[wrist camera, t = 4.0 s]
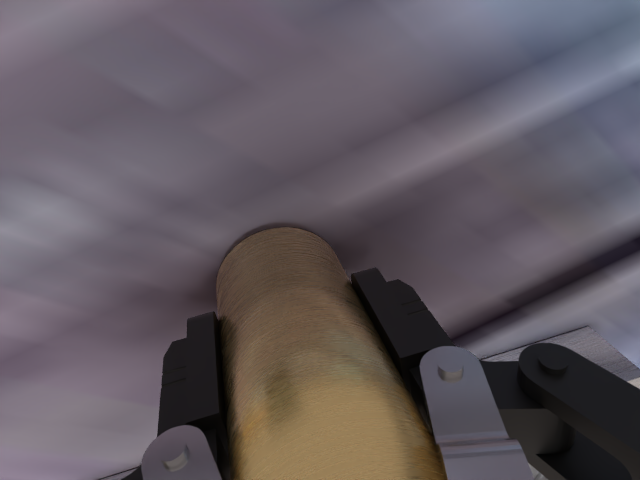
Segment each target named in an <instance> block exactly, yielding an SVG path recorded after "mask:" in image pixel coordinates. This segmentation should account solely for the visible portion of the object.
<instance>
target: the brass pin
mask: <svg viewBox="0 0 640 480" xmlns="http://www.w3.org/2000/svg"><path fill="white" fill-rule="evenodd" d="M216 294H217V307H218V320H219V334H220V347H221V360H222V374H223V387H224V400H225V414H226V427H227V441H228V454H229V467H230V480H444V476H443V472H442V469H441V465H440V462H439V458H438V455H437V451H436V448H435V444H434V441H433V438H432V435H431V431H430V430H429V428H428V426H427V424H426V422H425V420H424V418H423V416H422V415H421V413H420V411H419V409H418V407H417V405H416V403H415V402H414V400H413V398H412V396H411V394H410V392H409V390H408V388H407V387H406V385H405V383H404V381H403V379H402V377H401V375H400V374H399V372H398V370H397V368H396V366H395V364H394V362H393V360H392V359H391V357H390V355H389V353H388V351H387V349H386V347H385V345H384V344H383V342H382V340H381V338H380V336H379V334H378V332H377V331H376V329H375V327H374V325H373V323H372V321H371V319H370V317H369V316H368V314H367V312H366V310H365V308H364V306H363V304H362V303H361V301H360V299H359V297H358V295H357V293H356V291H355V289H354V288H353V286H352V284H351V282H350V280H349V278H348V276H347V275H346V273H345V271H344V269H343V267H342V265H341V263H340V261H339V260H338V258H337V256H336V254H335V252H334V251H333V249H332V248H331V247H330V246H329V244H328V243H327V242H325V241H324V240H323V239H322V238H320V237H319V236H317V235H315V234H313V233H311V232H309V231H306V230H302V229H297V228H288V227H282V228H273V229H268V230H264V231H261V232H258V233H256V234H254V235H251V236H249V237H248V238H246V239H244V240H243V241H241V242H240V243H239V244H238V245H236V246H235V247H234V248H233V249H232V250H231V251H230V252H229V254H228V255H227V256H226V258H225V259H224V261H223V262H222V264H221V266H220V269H219V271H218V275H217V279H216Z"/></svg>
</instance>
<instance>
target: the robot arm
mask: <svg viewBox="0 0 640 480" xmlns="http://www.w3.org/2000/svg"><path fill="white" fill-rule="evenodd" d="M351 281H352V286H353V288H354V289H355V291H356V293H357V295H358V297H359V299H360V301H361V303H362V304H363V306H364V308H365V310H366V312H367V314H368V316H369V317H370V319H371V321H372V323H373V325H374V327H375V329H376V331H377V332H378V334H379V336H380V338H381V340H382V342H383V344H384V345H385V347H386V349H387V351H388V353H389V355H390V357H391V359H392V360H393V362H394V364H395V366H396V368H397V370H398V372H399V374H400V375H401V377H402V379H403V381H404V383H405V385H406V387H407V388H408V390H409V392H410V394H411V396H412V398H413V400H414V402H415V403H416V405H417V407H418V409H419V411H420V413H421V415H422V416H423V418H424V420H425V422H426V424H427V426H428V428H429V430H430V431H431V435H432V438H433V441H434V444H435V448H436V451H437V455H438V458H439V462H440V465H441V469H442V472H443V476H444V480H535V479H534V477H533V474H532V472H531V469H530V467H529V464H530V465H531V466H533V467H534V468H535V469H536V470H537V471H538V472H540V473H541V474H542V475H543V476H544V477H546V478H547V479H548V480H640V389H639V388H637V387H635V386H634V385H632V384H630V383H628V382H627V381H625V380H623V379H621V378H620V377H618V376H616V375H614V374H613V373H611V372H609V371H608V370H606V369H604V368H602V367H601V366H599V365H597V364H595V363H594V362H592V361H590V360H588V359H587V358H585V357H583V356H581V355H580V354H578V353H576V352H574V351H573V350H571V349H569V348H567V347H564V346H562V345H558V344H553V343H537V344H533V345H530V346H528V347H526V348H525V349H524V350H523V351H522V352H521V353H520V356H519V361H497V362H492V361H482V360H478V359H477V357H475V356H474V355H473V354H472V353H470V352H469V351H467V350H465V349H462V348H459V347H456V346H455V345H454V344H453V342H452V341H451V340H450V338H449V337H448V336H447V334H446V333H445V332H444V330H443V329H442V327H441V326H440V325H439V323H438V322H437V321H436V319H435V318H434V317H433V315H432V314H431V312H430V311H428V309H427V307H426V306H425V304H424V303H423V302H422V301H421V299H420V297H419V296H418V295H417V293H416V292H415V291H414V289H413V288H412V287H411V286H409V285H407V284H405V283H404V282H402V281H400V280H399V279H397V280H393V281H390V282H386V281H385V279H384V278H383V276H382V275H381V273H380V272H379V270H378V269H377V268H372V269H368V270H364V271H361V272H357V273H353V274H351ZM162 373H163V375H162V384H161V385H162V388H161V397H160V409H159V421H158V434H157V438H156V439H155V440H154V441H153V442H152V443H151V444H150V445H149V447H148V448H147V450H146V451H145V454H144V456H143V459H142V464H141V465H140V466H139V467H138V468H137V469H136V470H135V471H133V472H132V473H131V474H129V475H128V476H126V477H124V478H123V479H121V480H230V467H229V454H228V441H227V427H226V414H225V400H224V387H223V374H222V360H221V347H220V334H219V321H218V318H217V316H216V314H215V312H214V311H213V312H210V313H206V314H202V315H199V316H195V317H191V318H188V319H187V338H184V339H181V340H177V341H174V342H172V344H171V345H170V347H169V349H168V351H167V352H166V354H165V356H164V359H163V372H162ZM528 463H529V464H528Z"/></svg>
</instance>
